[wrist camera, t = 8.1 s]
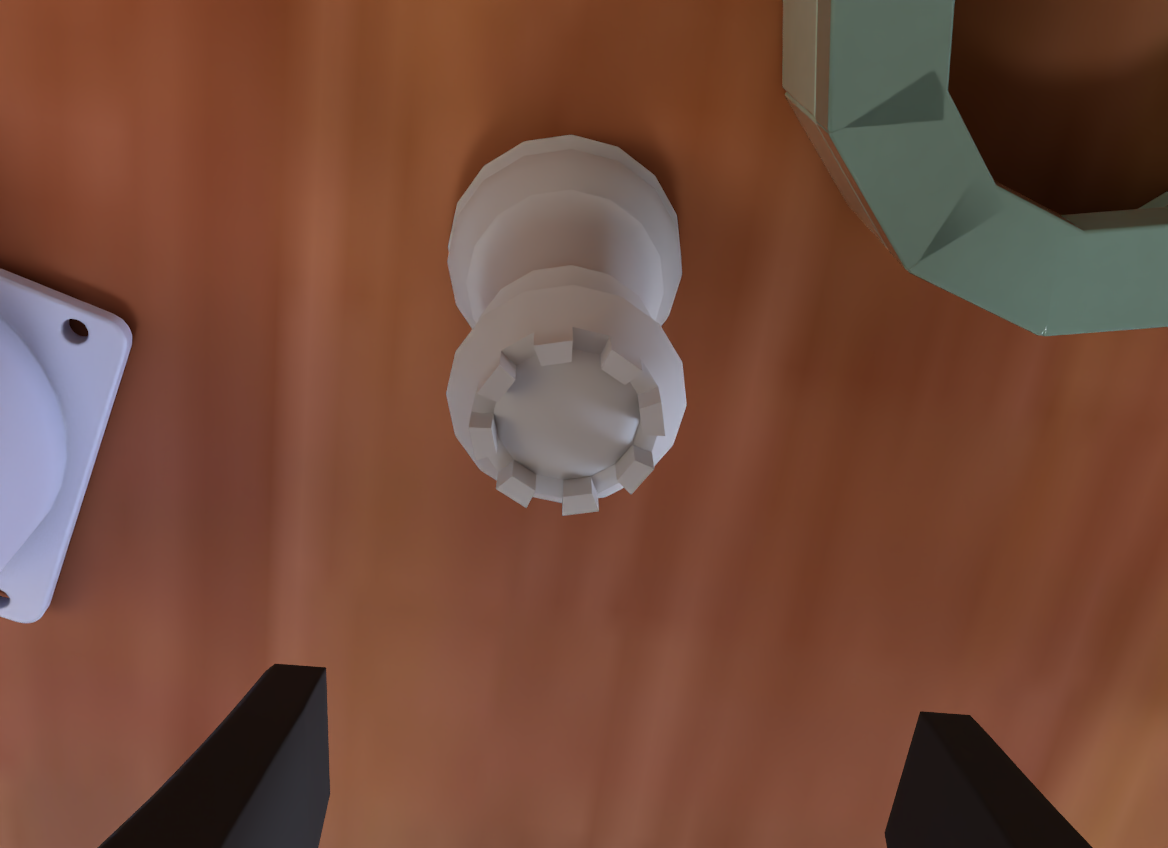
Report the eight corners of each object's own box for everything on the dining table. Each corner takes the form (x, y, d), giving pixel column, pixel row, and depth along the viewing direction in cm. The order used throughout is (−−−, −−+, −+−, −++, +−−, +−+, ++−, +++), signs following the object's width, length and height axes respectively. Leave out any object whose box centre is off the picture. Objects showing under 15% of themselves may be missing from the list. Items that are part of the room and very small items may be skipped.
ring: (683, 126, 20) (708, 175, 16) (998, -491, 16) (1118, -595, 12) (1110, 339, 22) (1212, 421, 19) (1483, -160, 18) (1698, -170, 15)
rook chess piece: (668, 356, 22) (719, 582, 15) (450, 345, 22) (395, 569, 15) (690, 136, 20) (764, 274, 13) (450, 121, 20) (388, 254, 13)
